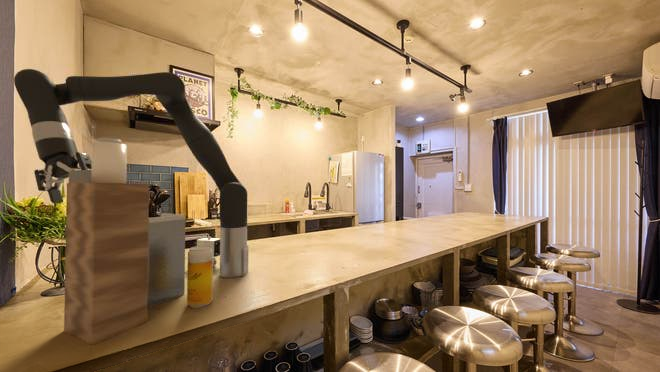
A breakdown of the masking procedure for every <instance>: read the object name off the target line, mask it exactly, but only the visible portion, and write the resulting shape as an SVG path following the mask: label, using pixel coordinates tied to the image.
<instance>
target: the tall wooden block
mask: <svg viewBox="0 0 660 372" xmlns="http://www.w3.org/2000/svg"><path fill="white" fill-rule="evenodd" d="M65 206H66V209H65V211H66V213H65V214H66V215H65V220H66V221H65V260H64V261H65V262H64V263H65V265H64V266H65V267H64V270H65V271H64V311H63V312H64V313H63V314H64V315H63V319H64V320H63V325H64V326H63V331H64V332H66V333H68V334H69V335H72V336H73V337H75V338H77V339H80V340H81V341H83V342H85V343H87V344H90V345H91V346H94V345H96V344H99V343H101V342H103V341H106V340H108V339H110V338H112V337H114V336H117V335H121V334H122V333H124V332H127V331H129V330H131V329H133V328H135V327H138V326H140V325H142V324H144V323H146V322H148V308H147V299H148V228H149V218H150V217H149V214H150V213H149V212H150V208H149V207H150V184H149V183H128V182H126V183H69V182H67V183H66V205H65Z"/></svg>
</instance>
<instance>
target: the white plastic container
mask: <svg viewBox="0 0 660 372" xmlns="http://www.w3.org/2000/svg"><path fill="white" fill-rule="evenodd" d="M97 139H98V140H97V141H92V142H91V162H92V169H91V170H75V171H69V177H68V183H127V179H128V178H127V176H128V175H127V172H128V171H127V169H128V168H127V167H128V166H127V165H128V164H127V163H128V162H127V161H128V160H127V159H128V145H127V144H124V143H122V142H123V141H122V140H121V139H118V138H113V137H98V138H97Z"/></svg>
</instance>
